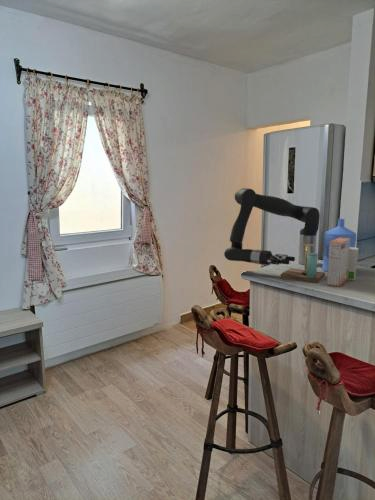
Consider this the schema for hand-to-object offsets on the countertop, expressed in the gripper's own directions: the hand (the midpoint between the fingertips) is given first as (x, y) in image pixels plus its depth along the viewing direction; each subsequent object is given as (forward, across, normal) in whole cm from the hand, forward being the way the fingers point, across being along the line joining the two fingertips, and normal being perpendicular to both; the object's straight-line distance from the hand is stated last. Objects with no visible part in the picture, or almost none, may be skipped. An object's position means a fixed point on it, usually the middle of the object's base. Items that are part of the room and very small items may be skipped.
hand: (291, 260), depth 179 cm
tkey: (+6, +7, +6) cm, 11 cm away
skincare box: (+23, +15, +9) cm, 29 cm away
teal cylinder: (+10, 0, +7) cm, 12 cm away
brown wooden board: (+4, +5, +9) cm, 11 cm away
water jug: (+16, +29, +9) cm, 34 cm away
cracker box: (+21, +4, +9) cm, 23 cm away
